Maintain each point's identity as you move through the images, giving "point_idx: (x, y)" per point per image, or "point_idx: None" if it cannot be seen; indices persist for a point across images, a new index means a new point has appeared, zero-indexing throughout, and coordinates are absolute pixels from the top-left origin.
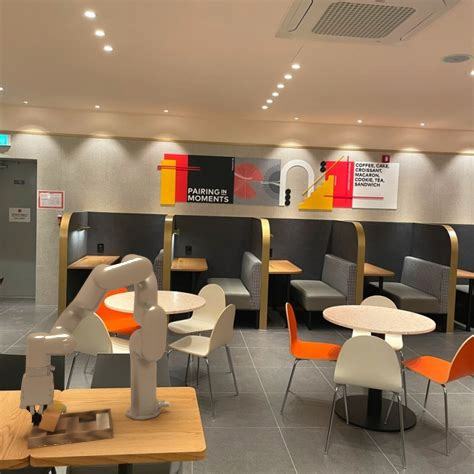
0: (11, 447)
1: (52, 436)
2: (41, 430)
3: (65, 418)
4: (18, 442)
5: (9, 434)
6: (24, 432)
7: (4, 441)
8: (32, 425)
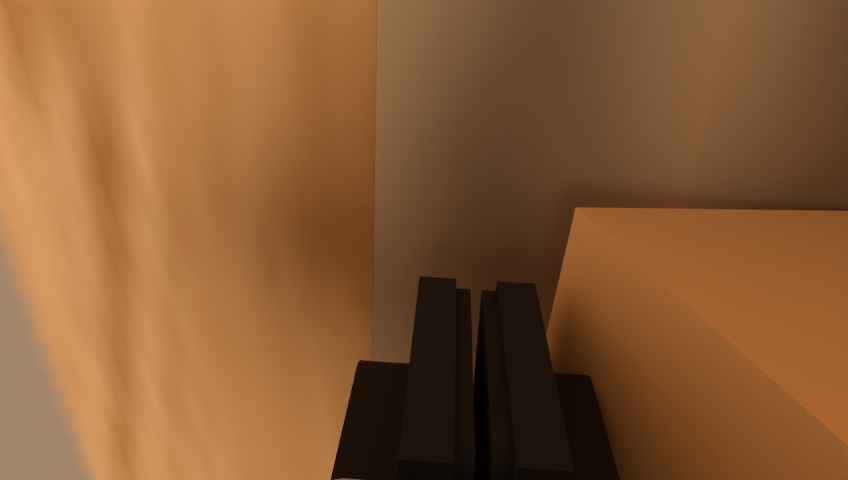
0: (165, 456)
1: None
2: None
3: None
4: (226, 356)
5: (3, 20)
6: (252, 24)
7: (11, 258)
8: (377, 45)
